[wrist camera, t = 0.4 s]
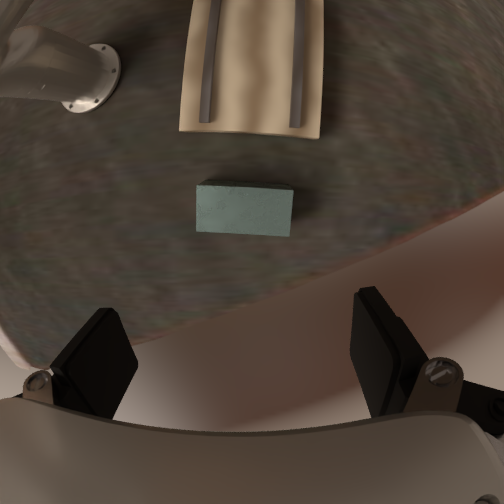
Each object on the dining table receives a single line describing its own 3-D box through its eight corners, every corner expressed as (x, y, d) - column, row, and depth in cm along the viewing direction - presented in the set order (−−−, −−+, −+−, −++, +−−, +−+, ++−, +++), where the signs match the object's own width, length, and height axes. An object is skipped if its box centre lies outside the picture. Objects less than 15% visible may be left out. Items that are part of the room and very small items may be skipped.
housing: (204, 219, 41) (196, 231, 36) (205, 179, 39) (196, 185, 33) (284, 224, 41) (289, 236, 36) (288, 184, 39) (293, 190, 33)
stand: (186, 132, 36) (176, 130, 31) (201, -4, 28) (194, -19, 23) (312, 139, 36) (321, 138, 31) (317, 2, 28) (324, -13, 23)
